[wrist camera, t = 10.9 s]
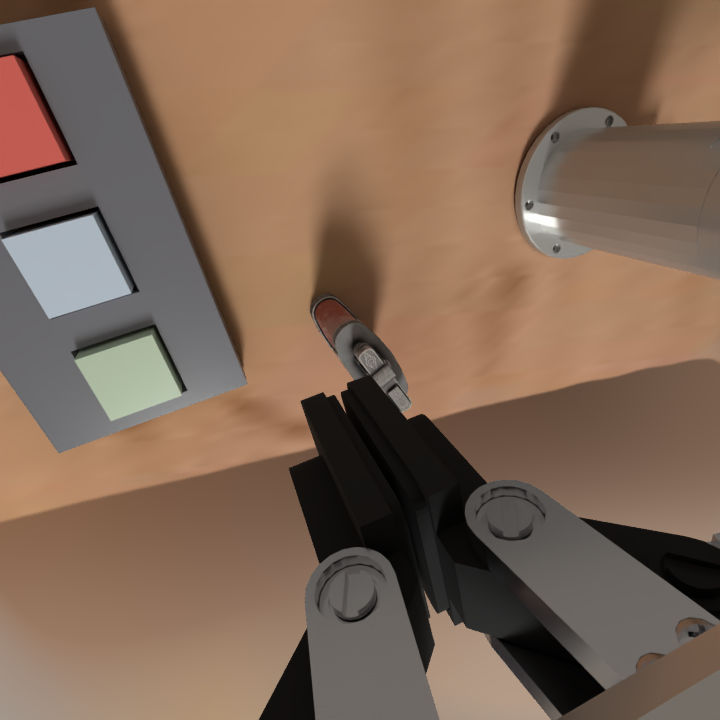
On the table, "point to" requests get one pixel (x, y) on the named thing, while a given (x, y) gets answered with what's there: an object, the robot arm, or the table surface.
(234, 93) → the table surface
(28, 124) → the red button
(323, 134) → the table surface
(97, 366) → the sage button
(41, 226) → the bluegrey button
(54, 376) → the button panel
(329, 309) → the lighter
